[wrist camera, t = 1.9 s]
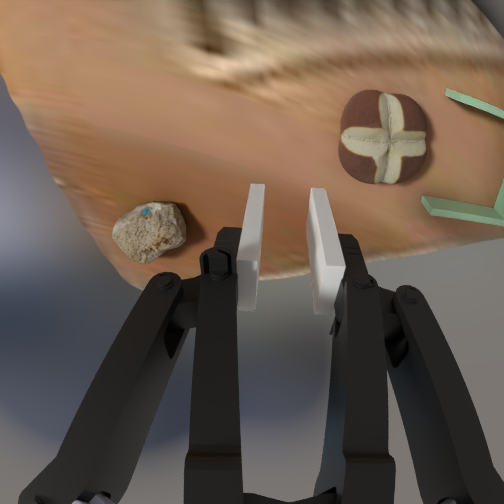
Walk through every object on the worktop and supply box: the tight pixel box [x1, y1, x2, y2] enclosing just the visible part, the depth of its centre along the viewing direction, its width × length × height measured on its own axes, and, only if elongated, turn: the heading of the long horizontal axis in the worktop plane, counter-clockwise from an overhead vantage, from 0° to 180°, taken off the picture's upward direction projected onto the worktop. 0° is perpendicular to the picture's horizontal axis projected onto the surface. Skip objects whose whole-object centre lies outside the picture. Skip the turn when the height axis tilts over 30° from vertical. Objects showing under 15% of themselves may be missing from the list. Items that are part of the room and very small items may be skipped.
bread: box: [339, 90, 427, 184], centre depth 30 cm, size 11×11×5 cm
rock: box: [112, 201, 187, 263], centre depth 41 cm, size 8×11×4 cm
